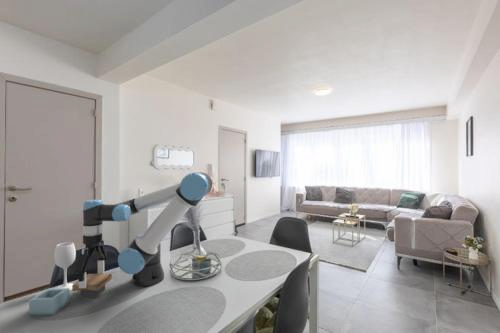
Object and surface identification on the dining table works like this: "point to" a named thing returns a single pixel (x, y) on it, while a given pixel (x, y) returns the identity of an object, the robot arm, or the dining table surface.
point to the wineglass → (65, 260)
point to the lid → (93, 282)
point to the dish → (49, 301)
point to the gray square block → (92, 292)
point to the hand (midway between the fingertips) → (92, 280)
